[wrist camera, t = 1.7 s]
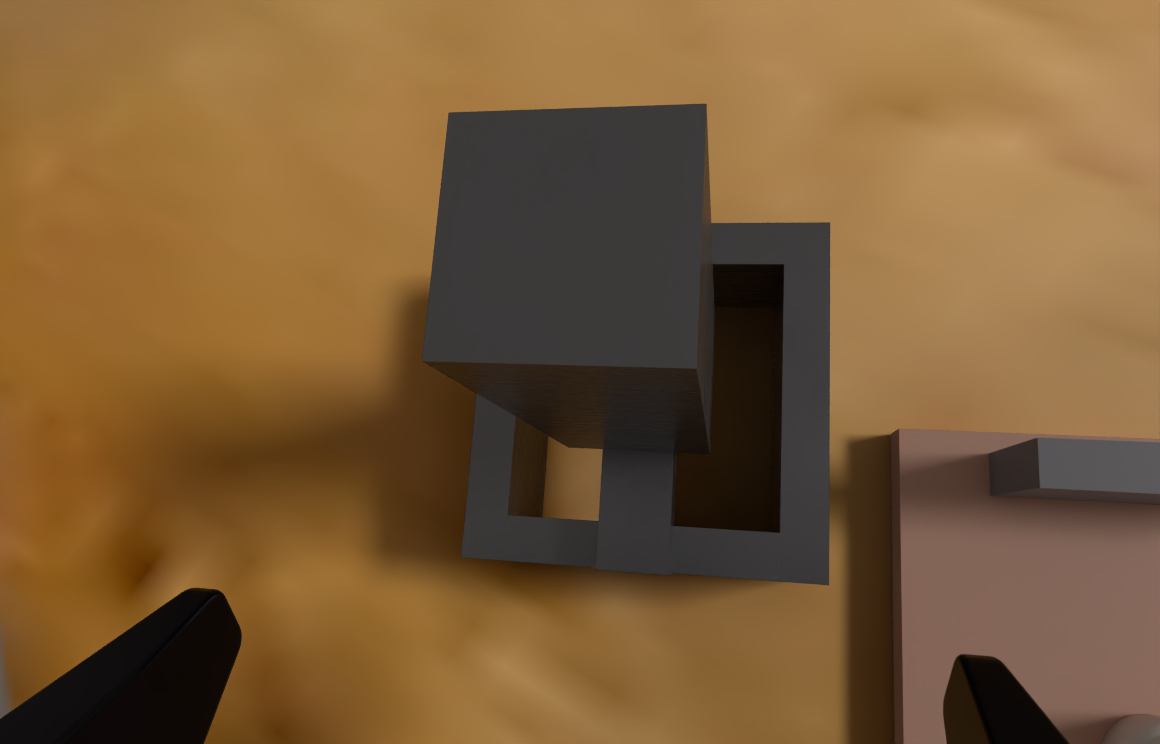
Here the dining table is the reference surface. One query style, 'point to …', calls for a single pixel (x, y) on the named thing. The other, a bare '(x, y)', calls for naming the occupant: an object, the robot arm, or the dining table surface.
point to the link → (619, 337)
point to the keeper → (1028, 576)
